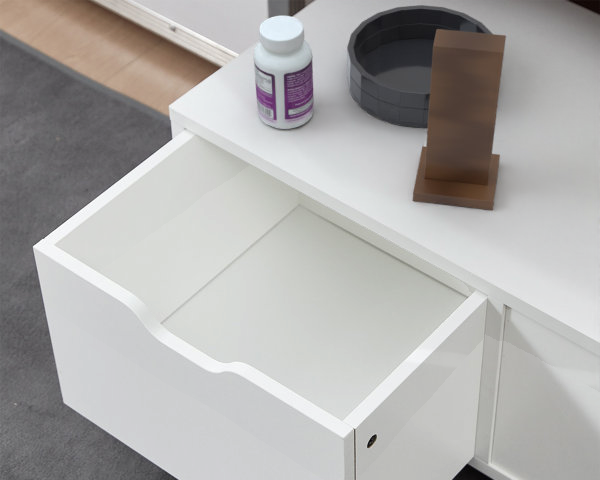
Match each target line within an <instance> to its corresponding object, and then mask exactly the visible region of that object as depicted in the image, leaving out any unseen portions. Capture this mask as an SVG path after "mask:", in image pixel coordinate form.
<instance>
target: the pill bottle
mask: <svg viewBox="0 0 600 480" xmlns="http://www.w3.org/2000/svg"><path fill="white" fill-rule="evenodd" d="M304 28H305V27H304V24H303V23H302V21H301V20H300V19H298V18H296V17H293V16H291V15H275V16H272V17H269V18H267V19H265V20H264V21H263V22H261V24H260V26H259V32H258V33H259V38H258V40H259V42H258V43H257V45H256V46H255V48H254V50H253V51H254V52H253V68H254V81H255V95H256V108H257V114H258V116H259V120H261V121H262V122H263V123H264V124H266V125H268V126H269V127H272V128H276V129H280V130H289V129H295V128H297V127H298V128H299V127H301V126H303V125H305V124H306V123H307V122H308V121H309V120H310V119H312V117H313V115H314V109H315V106H314V105H315V103H314V102H315V101H314V100H315V99H314V97H315V95H314V71H313V68H314V66H313V57H314V56H313V52H312V48H311V45H310V44H309V43H308V42H307V41H306V40H305V29H304Z"/></svg>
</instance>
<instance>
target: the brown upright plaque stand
mask: <svg viewBox="0 0 600 480" xmlns="http://www.w3.org/2000/svg"><path fill="white" fill-rule="evenodd" d="M506 39H507V36H506V35H505V34H495V33H493V34H485V33H475V32H464V31H453V30H443V29H437V30H436V35H435V40H434V44H433V56H432V70H431V85H430V100H429V114H428V128H426V130H427V131H426V145H425V146H424V145H423V146H422V147H421V152H420V156H419V160H418V161H419V162H418V167H417V171H416V177H415V180H414V181H415V182H414V187H413V190H412V191H413V192H412V193H413V194H412V201H413V202H419V203H428V204H436V205H437V204H438V205H445V206H446V205H447V206H453V207H456V206H457V207H463V208H470V209H471V208H472V209H480V210H488V211H493V210H494V203H495V195H496V189H497V181H498V174H499V165H500V159H501V155H500V154H498V153H493V148H494V142H495V141H494V140H495V132H496V125H497V123H496V122H497V117H498V116H497V115H498V106H499V98H500V90H501V82H502V81H501V80H502V73H503V66H504V65H503V64H504V54H505V49H506V48H505V47H506V41H507V40H506Z"/></svg>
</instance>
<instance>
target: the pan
mask: <svg viewBox="0 0 600 480" xmlns="http://www.w3.org/2000/svg"><path fill="white" fill-rule="evenodd" d="M437 29H443V30H453V31H464V32H475V33H485V34H494V33H493V32H491V30H490V29H488V27H487V26H486V25H485V24H484V23H483V22H482V21H480V20H478V19H476V18H474V17H472V16H470V15H469V14H466V13H464V12H461V11H459V10H454V9H451V8H447V7H445V6H435V5H426V4H425V5H424V4H417V5H406V6H396V7H393V8H389V9H386V10H382V11H379V12H377V13H375V14H374V15H372V16H370V17H367V18H366V19H365V20H363V21H361V22H360V23H359V24H358V26H357V27H356V28H355V29H354V30H353V31H352V32H351V34H350V36H349V39H348V43H347V46H346V79H347V87H348V91H349V93H350V95H351V98H352V99H353V100H354V102H355V103H356V104H357V105H358V106H359V107H360V108H361V109H362V110H363V111H365V112H366V113H368V114H369V115H371V116H373V117H375V118H376V119H379V120H381V121H383V122H386V123H389V124H391V125H392V124H393V125H396V126H401V127H407V128H408V127H409V128H417V129H418V128H419V129H424V128H426V129H428V114H429V100H430V85H431V70H432V56H433V44H434V40H435V35H436V30H437Z"/></svg>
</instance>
